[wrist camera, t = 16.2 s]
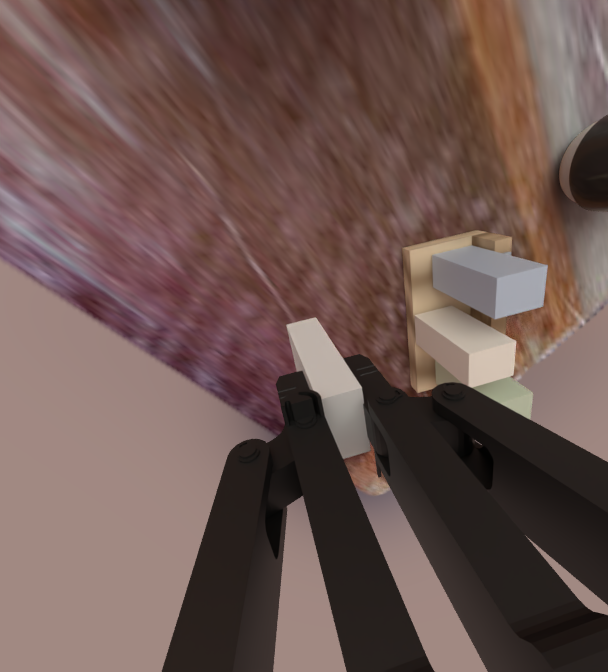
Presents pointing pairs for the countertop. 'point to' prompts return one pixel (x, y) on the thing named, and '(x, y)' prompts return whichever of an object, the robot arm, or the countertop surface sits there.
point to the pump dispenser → (587, 168)
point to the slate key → (490, 280)
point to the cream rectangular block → (465, 346)
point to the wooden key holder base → (439, 294)
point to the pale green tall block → (496, 391)
